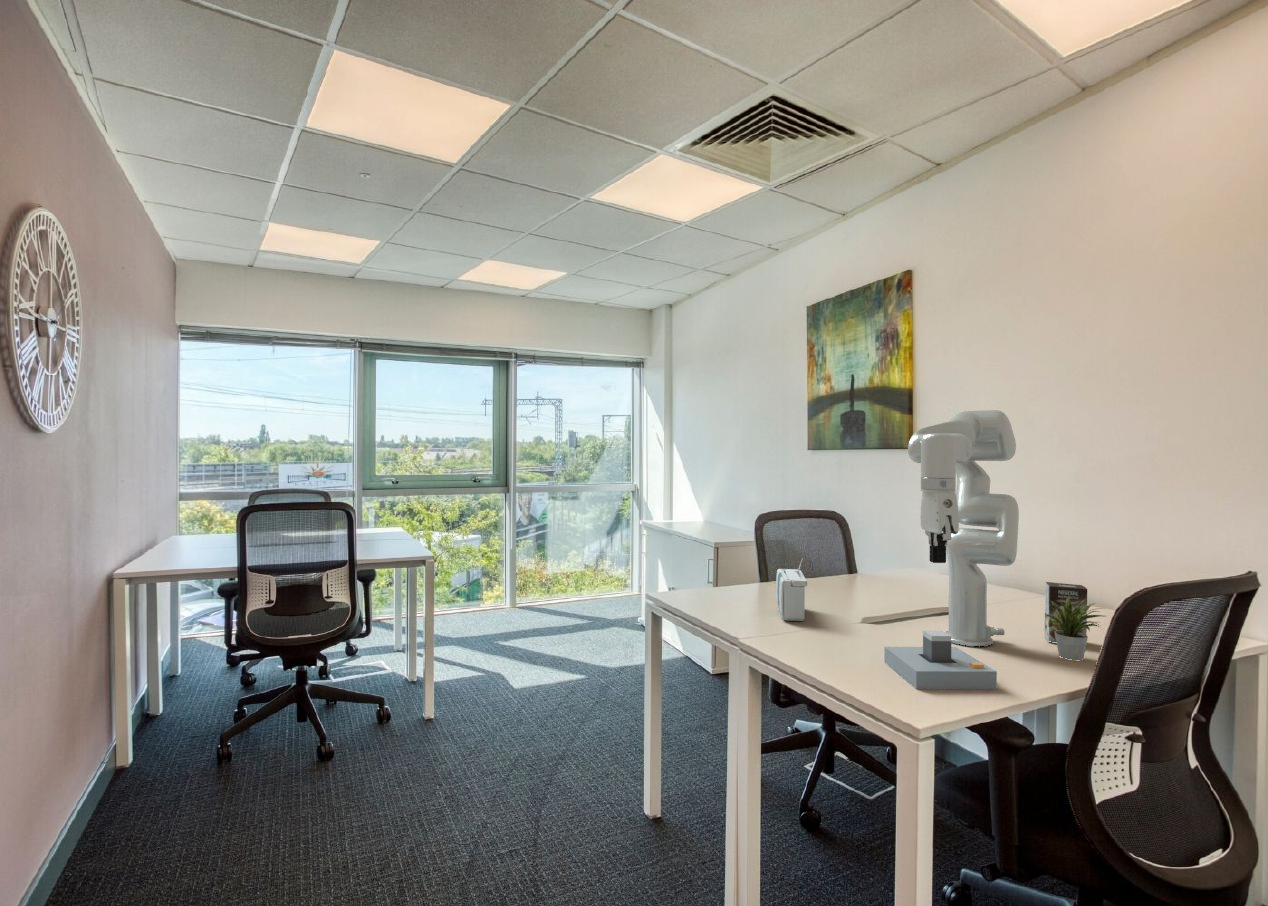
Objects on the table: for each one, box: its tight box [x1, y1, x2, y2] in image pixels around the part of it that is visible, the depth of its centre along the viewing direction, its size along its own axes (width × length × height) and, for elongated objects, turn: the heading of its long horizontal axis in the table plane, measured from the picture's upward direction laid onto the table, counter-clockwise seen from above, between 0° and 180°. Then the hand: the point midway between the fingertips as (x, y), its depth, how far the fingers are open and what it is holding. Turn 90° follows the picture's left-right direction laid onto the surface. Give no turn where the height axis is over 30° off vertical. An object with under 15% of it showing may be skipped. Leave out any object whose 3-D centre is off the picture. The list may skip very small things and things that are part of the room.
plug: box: [922, 630, 952, 663], centre depth 151 cm, size 5×5×10 cm
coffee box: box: [1044, 581, 1088, 642], centre depth 178 cm, size 9×6×16 cm
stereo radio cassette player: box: [775, 557, 808, 622], centre depth 208 cm, size 21×8×20 cm, turn 171°
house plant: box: [1046, 594, 1106, 660], centre depth 163 cm, size 14×14×16 cm
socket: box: [883, 646, 998, 690], centre depth 151 cm, size 18×18×5 cm
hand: (937, 562), depth 151 cm, fingers closed
